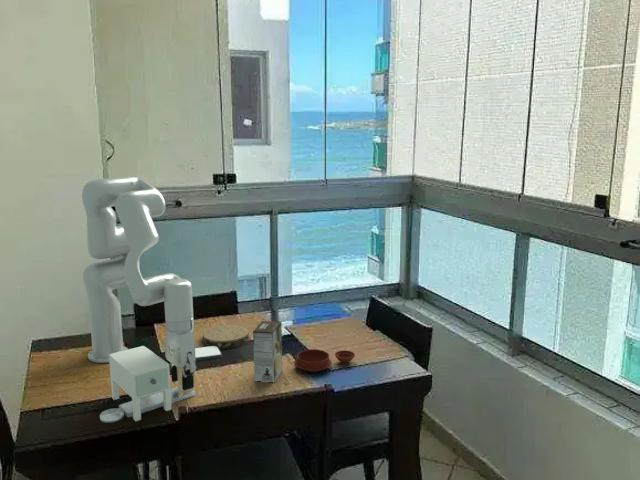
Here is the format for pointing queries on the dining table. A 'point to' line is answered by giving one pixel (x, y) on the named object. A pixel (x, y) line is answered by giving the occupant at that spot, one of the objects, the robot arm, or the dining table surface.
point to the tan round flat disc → (225, 336)
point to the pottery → (320, 359)
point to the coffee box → (267, 351)
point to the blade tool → (160, 397)
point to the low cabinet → (139, 376)
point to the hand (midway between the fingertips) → (182, 384)
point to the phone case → (207, 353)
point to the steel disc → (111, 415)
